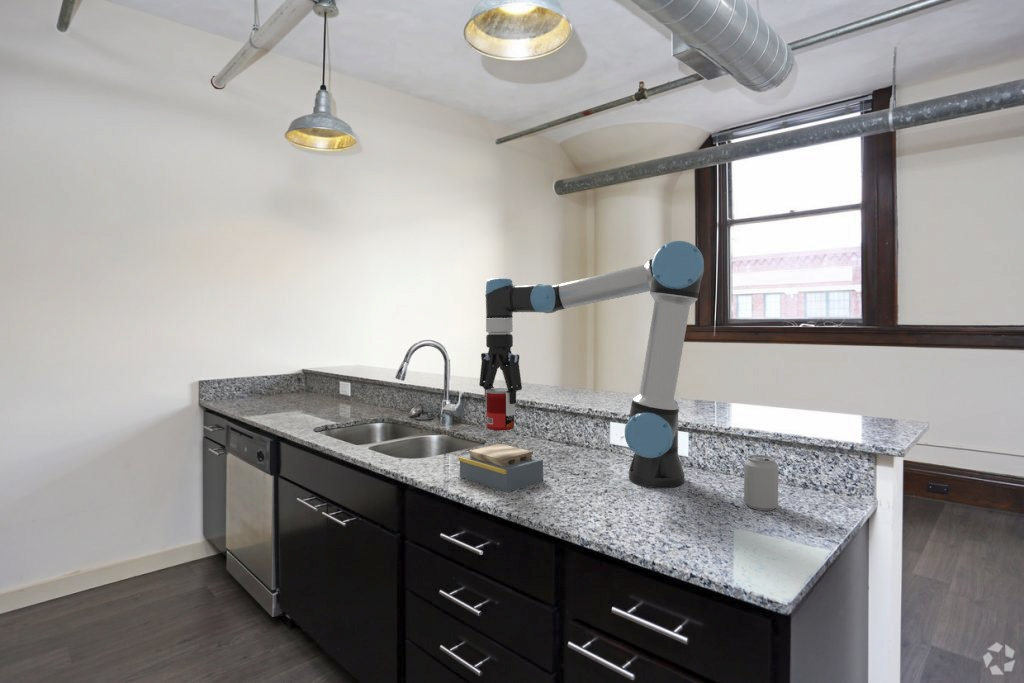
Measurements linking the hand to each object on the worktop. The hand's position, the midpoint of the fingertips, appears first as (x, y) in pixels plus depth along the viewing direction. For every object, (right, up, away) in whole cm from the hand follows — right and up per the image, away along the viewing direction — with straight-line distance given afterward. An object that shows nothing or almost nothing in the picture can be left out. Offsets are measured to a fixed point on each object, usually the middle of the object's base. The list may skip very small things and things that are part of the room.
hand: (500, 413), depth 152 cm
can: (+63, -19, -24) cm, 70 cm away
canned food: (0, -4, 0) cm, 4 cm away
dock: (0, -19, +1) cm, 19 cm away
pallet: (0, -13, 0) cm, 13 cm away
